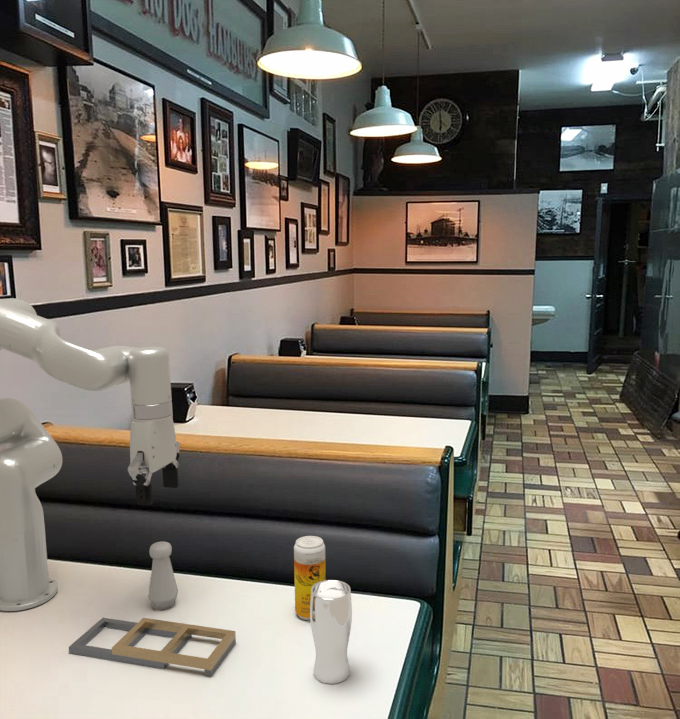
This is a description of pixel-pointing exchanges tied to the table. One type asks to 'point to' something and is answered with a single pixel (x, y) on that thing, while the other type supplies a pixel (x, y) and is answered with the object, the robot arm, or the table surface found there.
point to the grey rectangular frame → (103, 653)
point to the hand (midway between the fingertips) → (158, 495)
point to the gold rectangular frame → (167, 652)
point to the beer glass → (331, 629)
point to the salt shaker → (162, 577)
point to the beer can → (307, 571)
